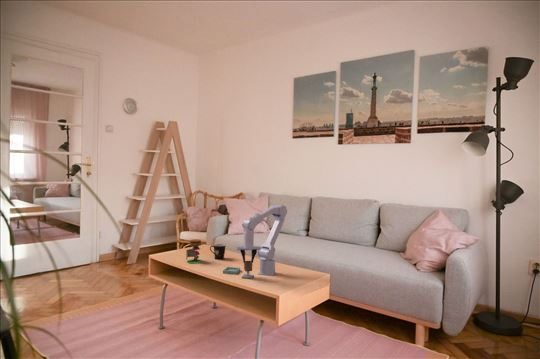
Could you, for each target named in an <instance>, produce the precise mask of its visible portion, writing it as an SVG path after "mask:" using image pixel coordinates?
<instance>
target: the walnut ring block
mask: <svg viewBox="0 0 540 359" xmlns="http://www.w3.org/2000/svg"><path fill="white" fill-rule="evenodd" d="M243 270H244V271H245V272H247V271H249V272H252V271H253V263H252V261H251V260H245V263H244V262H243Z"/></svg>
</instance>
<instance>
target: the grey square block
mask: <svg viewBox="0 0 540 359" xmlns="http://www.w3.org/2000/svg"><path fill="white" fill-rule="evenodd" d="M254 277H255V275H254V274H250V271H246V273H244V274H243V275H242V276H241V279H244V280H245V279H246V280H253V278H254Z"/></svg>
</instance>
